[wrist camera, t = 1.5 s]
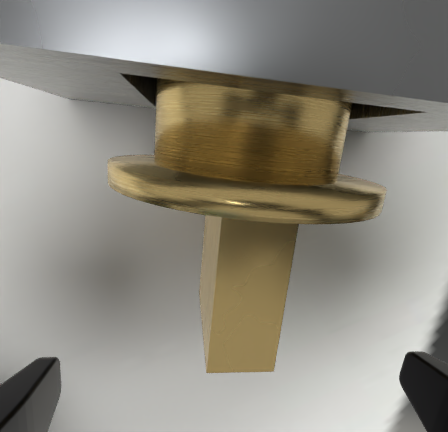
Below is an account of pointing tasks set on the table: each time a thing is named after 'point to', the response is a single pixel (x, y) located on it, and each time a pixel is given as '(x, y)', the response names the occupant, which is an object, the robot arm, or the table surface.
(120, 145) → the table surface
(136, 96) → the block
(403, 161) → the table surface
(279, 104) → the end cover
